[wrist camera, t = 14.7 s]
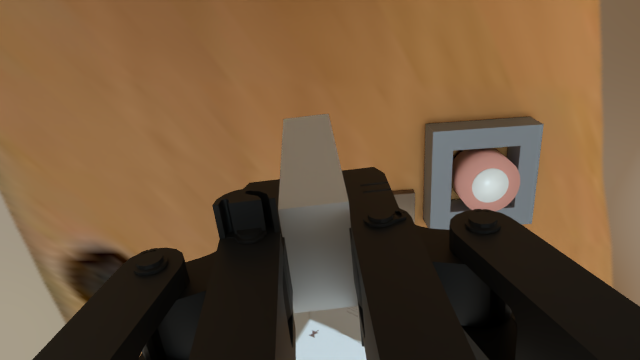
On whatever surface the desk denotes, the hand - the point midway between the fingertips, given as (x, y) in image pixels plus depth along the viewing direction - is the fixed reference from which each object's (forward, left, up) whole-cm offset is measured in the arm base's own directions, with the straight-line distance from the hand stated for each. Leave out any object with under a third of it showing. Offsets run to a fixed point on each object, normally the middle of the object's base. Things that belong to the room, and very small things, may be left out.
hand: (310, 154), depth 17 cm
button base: (+11, +15, -24) cm, 31 cm away
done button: (+11, +15, -24) cm, 30 cm away
